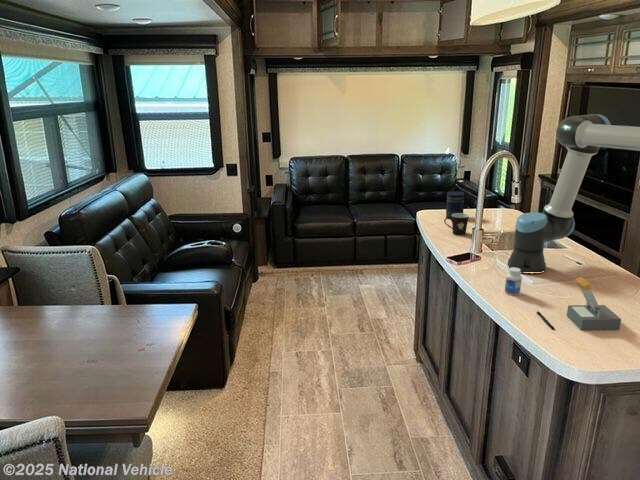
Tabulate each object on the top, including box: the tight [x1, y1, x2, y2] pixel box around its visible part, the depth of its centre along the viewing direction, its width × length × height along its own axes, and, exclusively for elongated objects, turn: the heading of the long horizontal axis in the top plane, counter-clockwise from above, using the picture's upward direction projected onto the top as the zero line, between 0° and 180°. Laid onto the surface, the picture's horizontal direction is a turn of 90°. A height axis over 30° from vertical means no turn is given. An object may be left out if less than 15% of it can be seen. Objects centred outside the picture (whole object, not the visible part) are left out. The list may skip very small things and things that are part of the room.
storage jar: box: [445, 190, 465, 219], centre depth 275 cm, size 10×10×15 cm
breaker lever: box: [574, 276, 601, 314], centre depth 152 cm, size 2×6×12 cm
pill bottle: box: [504, 267, 523, 296], centre depth 177 cm, size 6×5×10 cm
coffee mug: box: [444, 212, 470, 236], centre depth 248 cm, size 12×9×10 cm
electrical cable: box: [536, 310, 556, 331], centre depth 158 cm, size 12×1×1 cm, turn 0°
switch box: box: [566, 302, 622, 332], centre depth 154 cm, size 12×10×6 cm
